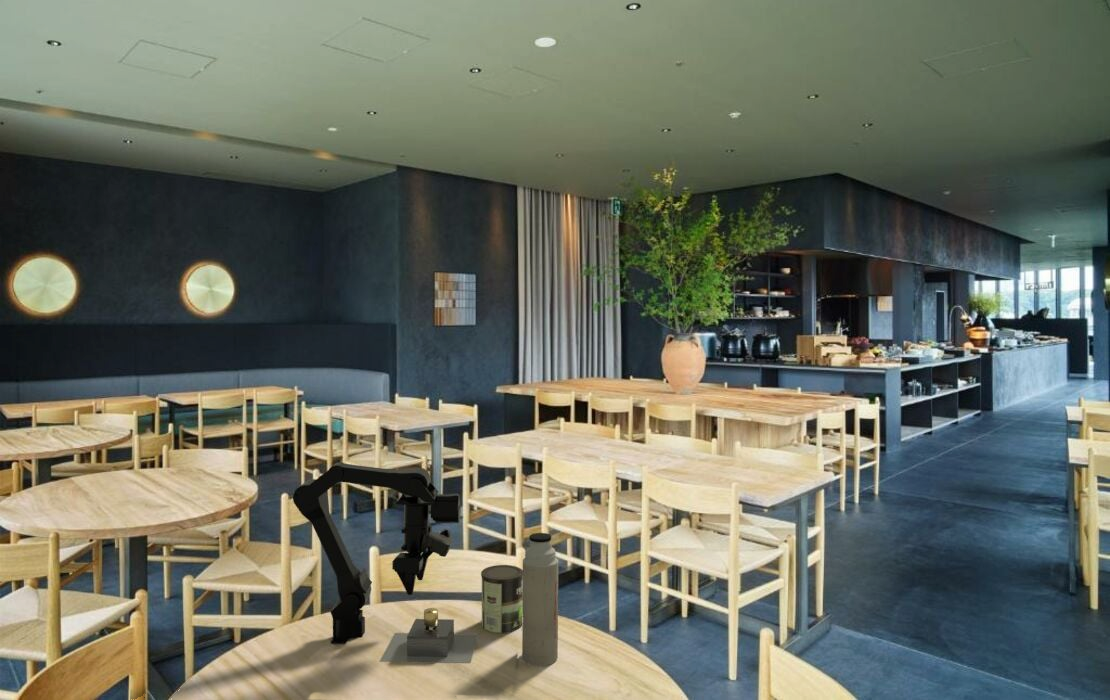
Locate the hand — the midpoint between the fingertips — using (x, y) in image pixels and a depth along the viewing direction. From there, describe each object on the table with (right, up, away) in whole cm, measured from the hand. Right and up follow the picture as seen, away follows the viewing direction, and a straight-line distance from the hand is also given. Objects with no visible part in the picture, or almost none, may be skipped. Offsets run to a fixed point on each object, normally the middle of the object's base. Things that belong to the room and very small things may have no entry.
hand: (415, 587), depth 170 cm
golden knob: (+5, -11, -6) cm, 14 cm away
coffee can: (+20, -12, +6) cm, 24 cm away
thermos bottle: (+30, -13, -9) cm, 34 cm away
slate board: (+5, -13, -6) cm, 15 cm away
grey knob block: (+5, -12, -6) cm, 14 cm away
